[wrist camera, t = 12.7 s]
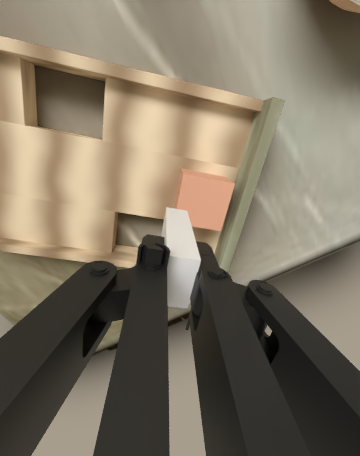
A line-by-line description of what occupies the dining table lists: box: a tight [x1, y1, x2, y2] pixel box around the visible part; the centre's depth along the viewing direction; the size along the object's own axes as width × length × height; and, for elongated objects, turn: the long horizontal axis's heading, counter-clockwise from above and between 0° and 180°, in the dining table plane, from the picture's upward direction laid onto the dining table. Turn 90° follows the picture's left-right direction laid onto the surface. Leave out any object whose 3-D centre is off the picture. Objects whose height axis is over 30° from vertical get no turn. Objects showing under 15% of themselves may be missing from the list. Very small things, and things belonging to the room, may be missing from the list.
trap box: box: [0, 36, 285, 272], centre depth 25 cm, size 31×22×6 cm
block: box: [174, 168, 235, 231], centre depth 25 cm, size 6×6×4 cm
